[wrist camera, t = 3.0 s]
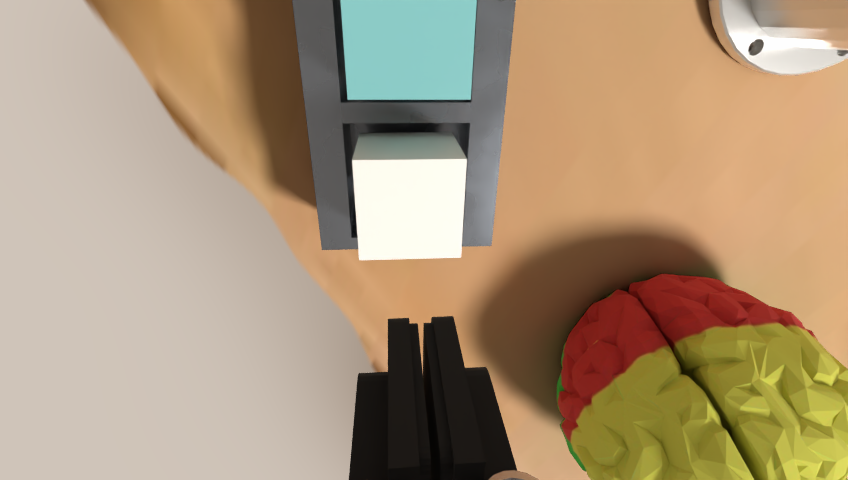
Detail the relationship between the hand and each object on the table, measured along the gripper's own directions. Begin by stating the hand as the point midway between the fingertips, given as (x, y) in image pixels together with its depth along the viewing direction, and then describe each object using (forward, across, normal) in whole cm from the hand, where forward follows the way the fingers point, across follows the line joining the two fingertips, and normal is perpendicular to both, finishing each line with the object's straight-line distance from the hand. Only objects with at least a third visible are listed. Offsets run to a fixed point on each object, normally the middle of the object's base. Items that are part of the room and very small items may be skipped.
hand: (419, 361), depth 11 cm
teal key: (+14, 0, -8) cm, 16 cm away
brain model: (+18, -22, +19) cm, 35 cm away
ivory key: (+14, 0, 0) cm, 14 cm away
